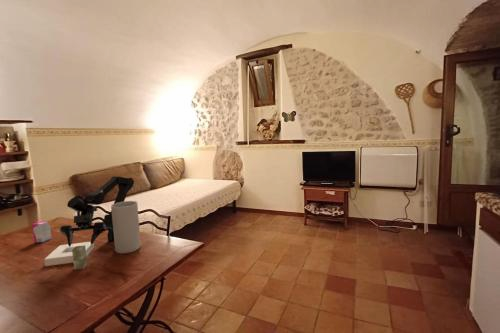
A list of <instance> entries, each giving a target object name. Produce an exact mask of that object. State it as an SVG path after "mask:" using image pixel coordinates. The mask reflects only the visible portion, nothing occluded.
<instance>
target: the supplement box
mask: <svg viewBox="0 0 500 333" xmlns="http://www.w3.org/2000/svg"><path fill="white" fill-rule="evenodd" d="M51 232H52V231H51V225H50V221H49V220H40V221H38V222H35V223H32V234H33V240H34V244H36V243H38V244H44V243H46V242H48V241H51V240H52V235H51V234H52V233H51Z"/></svg>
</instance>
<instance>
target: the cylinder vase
mask: <svg viewBox="0 0 500 333" xmlns="http://www.w3.org/2000/svg"><path fill="white" fill-rule="evenodd" d="M138 206H139V205H138V202H137V201H135V200H128V201H127V200H126V201H125V200H124V202H119V203H115V204H114V203H113V204H111V205H110V208H111V210H112V221H113V231H114V242H113V243H114V250H115V252H116V253H117V254H123V255H124V254H130V253H134V252H135V251H137V250H139V249H140V248H141V245H142V243H141V232H140V219H139V208H138ZM111 210H110V211H111Z"/></svg>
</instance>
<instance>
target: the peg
mask: <svg viewBox="0 0 500 333" xmlns="http://www.w3.org/2000/svg"><path fill="white" fill-rule="evenodd" d="M72 254H73V262H72V263H73V269H74V270H81V269H85V268H86V267H87V265H88V259H87V257H86V248H85V245H84V246H76V247H75V248H74V249H73V250H72Z"/></svg>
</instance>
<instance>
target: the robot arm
mask: <svg viewBox="0 0 500 333" xmlns="http://www.w3.org/2000/svg"><path fill="white" fill-rule="evenodd" d="M134 184H135V181H134V178H132V177H122V176H119V175H117V176H116V175H115V176H111V178H110V179H109V180H108V181H107V182H106V183H104V184H103V185H102V186H100V187H99V188H98V189H96V190H94V191H92V192H90V193H88V194H86V195H85V196H84V197H82V196H81V195H79V194H78V195H75V196H74V197H72V198H71V199H70V200H69V201H67V204H66V206H67V207H68V208H69V209H71V210H73V211H75V212H76V213H80V214H79V215H74V216H73V224H74V223H75V226H72V225H71V224H67V225H66V224H65V225H61V226H60V228H59V232H60V233H61V234H62V235H63V236H65V237H66V239H67V244H68V245H69V247H70V246H71V244H73V239H74V233H75V232H80V231H89V230H92V235H91V239H90V242H91V244H92V243H93V242H94V243H95V241H96V240H97V238H98V237H99V236H100V234H103V233H104V232H106V231H107V234H106V235H107V236H106V237H107V242H108V243H111V242H113V243H115V242H114V231H113V221H112V210H110V212H109V213H108V214H105V215H104V218H103V220H102V221H97V222H94V213H95V212H97V211H98V208H97V207H96V205H101V204H102V203H103V201H104V200H105V199H106V196H107V194H109V193H110V192H111V191H112V190H113V189H115V187H116V186H117V188H118V191H117V194H116V196H115V200H114V202H113V204H115V203H119V202H124V201H125V200H126V197H127V194H128V192H129V191H131V189H132V188H133V186H134ZM93 222H94V225H93Z"/></svg>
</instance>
